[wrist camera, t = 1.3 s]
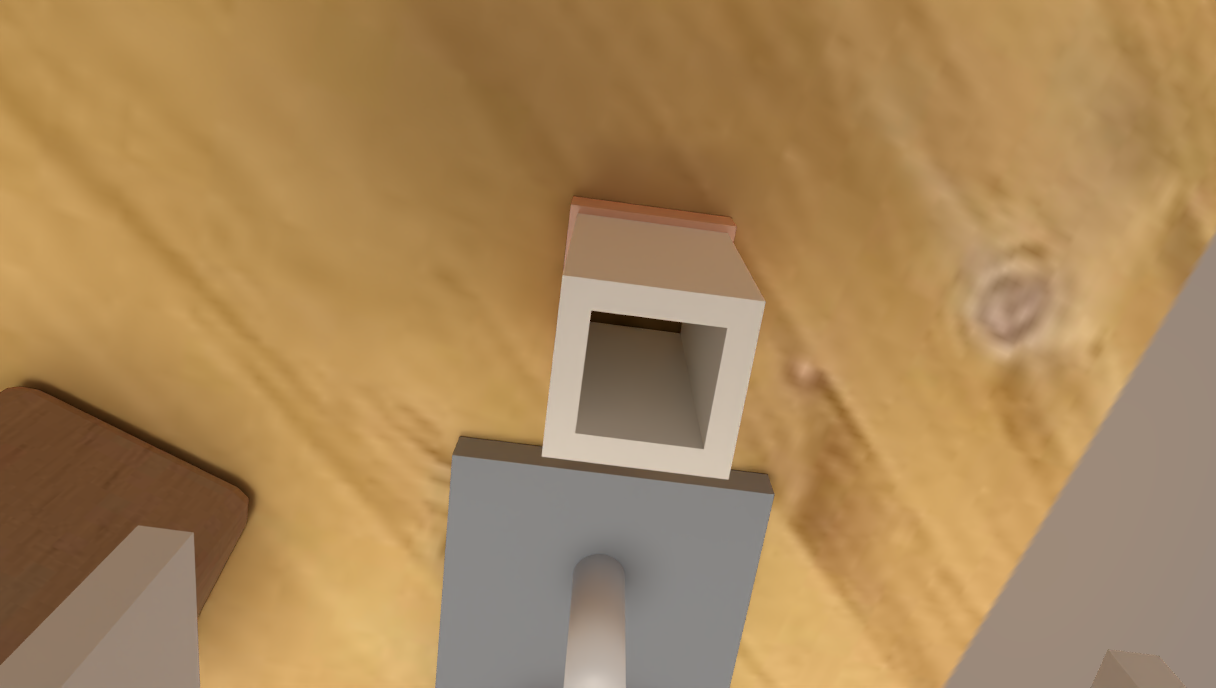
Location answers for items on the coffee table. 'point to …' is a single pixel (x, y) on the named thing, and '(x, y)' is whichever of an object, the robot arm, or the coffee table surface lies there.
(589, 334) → the sleeve
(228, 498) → the wooden block
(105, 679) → the robot arm
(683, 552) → the pin board
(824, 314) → the coffee table surface
